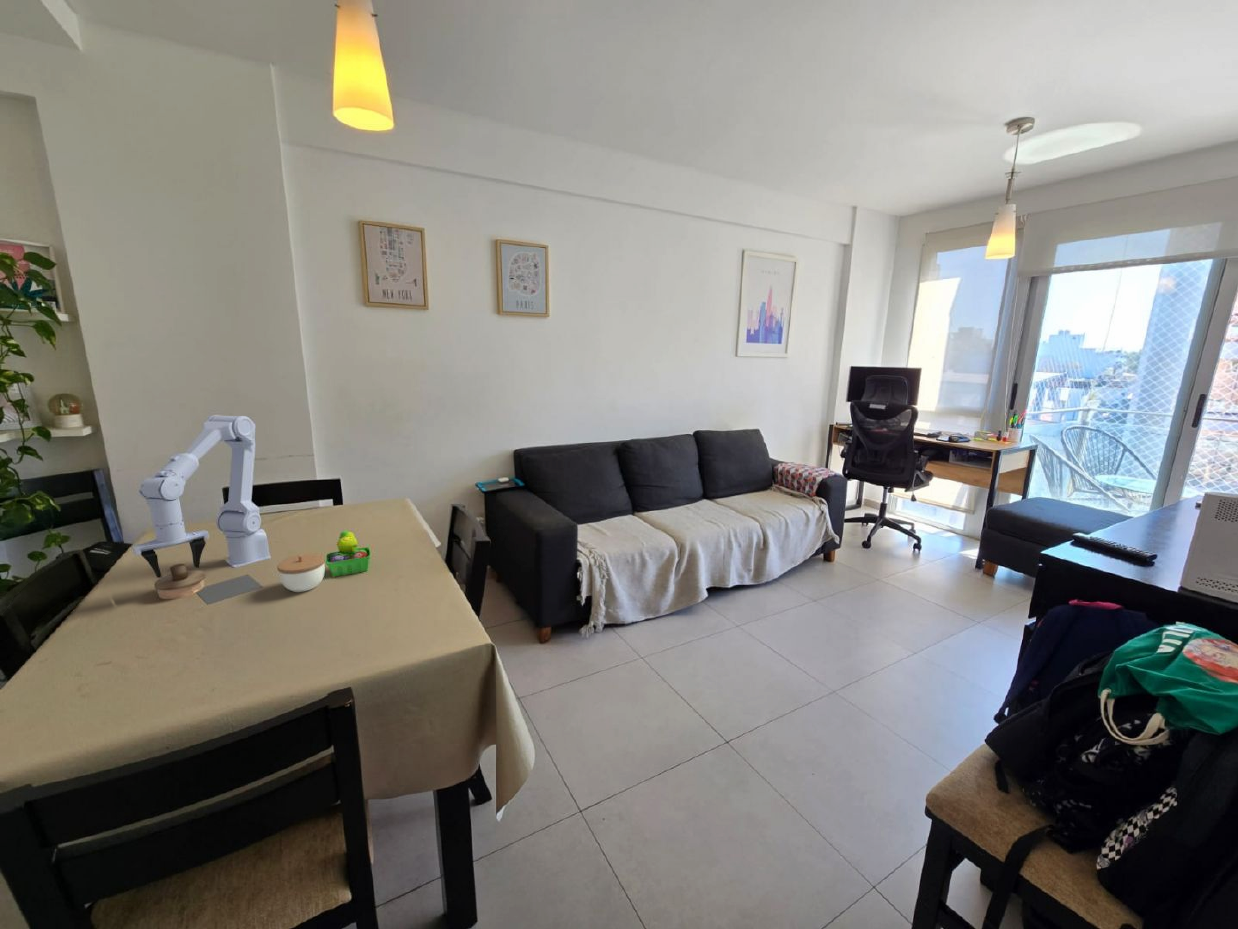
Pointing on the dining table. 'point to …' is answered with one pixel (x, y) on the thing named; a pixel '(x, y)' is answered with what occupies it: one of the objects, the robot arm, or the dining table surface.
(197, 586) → the bowl
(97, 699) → the dining table surface
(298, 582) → the lidded jar
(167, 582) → the lid
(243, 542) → the robot arm
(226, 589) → the mat
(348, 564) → the fruit basket
